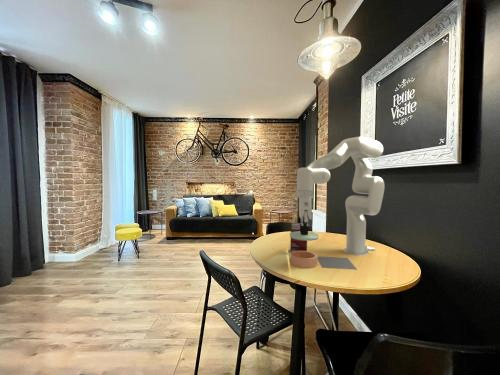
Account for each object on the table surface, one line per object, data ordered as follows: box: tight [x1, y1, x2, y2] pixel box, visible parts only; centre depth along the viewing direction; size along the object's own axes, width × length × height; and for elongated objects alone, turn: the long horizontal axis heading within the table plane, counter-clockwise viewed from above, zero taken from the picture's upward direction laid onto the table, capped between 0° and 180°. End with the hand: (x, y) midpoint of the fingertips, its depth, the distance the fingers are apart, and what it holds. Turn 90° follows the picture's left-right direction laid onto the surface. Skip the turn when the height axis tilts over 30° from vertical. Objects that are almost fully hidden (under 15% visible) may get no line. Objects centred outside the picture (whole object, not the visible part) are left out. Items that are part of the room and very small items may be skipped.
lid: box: [289, 222, 319, 242], centre depth 108 cm, size 13×13×6 cm
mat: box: [317, 255, 358, 271], centre depth 109 cm, size 15×15×1 cm
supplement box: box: [289, 223, 308, 253], centre depth 125 cm, size 9×5×16 cm, turn 83°
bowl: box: [290, 250, 319, 269], centre depth 108 cm, size 12×12×5 cm
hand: (304, 233), depth 108 cm, fingers closed on lid, 2 cm apart
